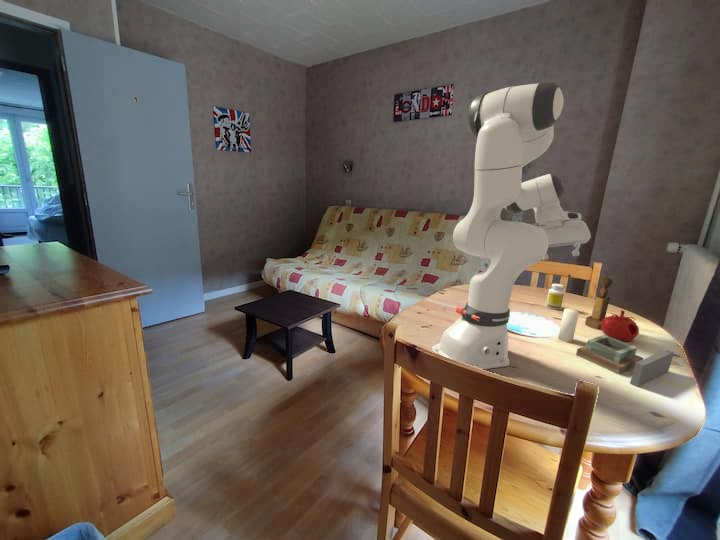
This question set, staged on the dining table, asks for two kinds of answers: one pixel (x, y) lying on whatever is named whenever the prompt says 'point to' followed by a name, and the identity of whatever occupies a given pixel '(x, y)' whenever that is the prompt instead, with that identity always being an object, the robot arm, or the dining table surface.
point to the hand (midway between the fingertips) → (561, 257)
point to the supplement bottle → (555, 297)
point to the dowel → (568, 325)
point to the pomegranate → (619, 327)
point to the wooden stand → (599, 306)
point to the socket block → (610, 354)
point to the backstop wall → (651, 367)
